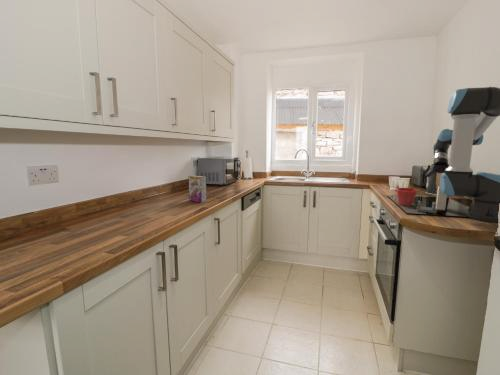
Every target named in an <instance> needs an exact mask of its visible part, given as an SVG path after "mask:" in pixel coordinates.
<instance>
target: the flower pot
mask: <svg viewBox="0 0 500 375" xmlns="http://www.w3.org/2000/svg"><path fill="white" fill-rule="evenodd" d="M396 191H397V193H396V194H397V204H399V205H400V206H409V207H410V206H413V205H414V202H415V198H416V196H417V193H418V190H417V189H416V188H409V187H397V188H396Z"/></svg>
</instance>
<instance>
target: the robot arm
mask: <svg viewBox="0 0 500 375" xmlns="http://www.w3.org/2000/svg"><path fill="white" fill-rule="evenodd" d="M447 113H448V114H450V118H451V119H452V120H453V128H452V129H449V128H444V129H442V130H441V131H440V132H439V134H438V136H437V139H436V141H435V142H434V143H433V148H432V149H433V165H430V164H429V165H427V167H426V169H425V170H424V171H423V173H422V174H421V176H420V177H421V179H423V180H424V184H425V183H426V184H425V185H426V186H425V187H426V189H428V188H429V178H430V177H432V176H433V175H435V174H436V173H437V174H440V175H439V186H440V189H441V192H442V193H443V194H444V195H447V196H448V197H449V196H450V197H467V198H472V202H471V204H470V206H469V208H468V209H467V211H466V217H467V216H468V218H470V219H473V220H477V221H478V220H479V221H483V222H491V223H499V222H498V211H499V203H500V174H496V173H490V172H485V171H477V172H476V173H475V174H474V173H473V172H474V170H473V169H472V168H471V167H470V166H471V161H472V151H473V146H479V145H482V143H483V141H484V133H485V132H487V130H488V129H489V128H490V126H491V125H492V124H493V123H494V121H496V119H497V118H498V117H500V87H496V86H488V87H487V86H486V87H466V88H458V89H455V91H454V92H453V93H452V94H451V96H450V99H449V100H448V104H447ZM449 148H450V153H449V154H448V152H449ZM430 170H431V171H430ZM429 171H430V172H429Z"/></svg>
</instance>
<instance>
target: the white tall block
mask: <svg viewBox="0 0 500 375" xmlns="http://www.w3.org/2000/svg"><path fill="white" fill-rule="evenodd" d="M447 196H448V195H444V194H443V193H442V192H441V189H440V185H437V192H436V201H435V203H436V211H437V210H438V211H446V207H447V206H446V205H447V198H448V197H447Z"/></svg>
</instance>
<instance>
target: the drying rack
mask: <svg viewBox="0 0 500 375" xmlns="http://www.w3.org/2000/svg"><path fill="white" fill-rule="evenodd" d="M421 202H422V201H421V200H417V205H416V208H415V209H416V212H418V211H420V212H419V213H427V212H428V214H437V209H436V201H432V203H431V207H430V206H429V207H428V206H427V207H426V206H422V203H421Z"/></svg>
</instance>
